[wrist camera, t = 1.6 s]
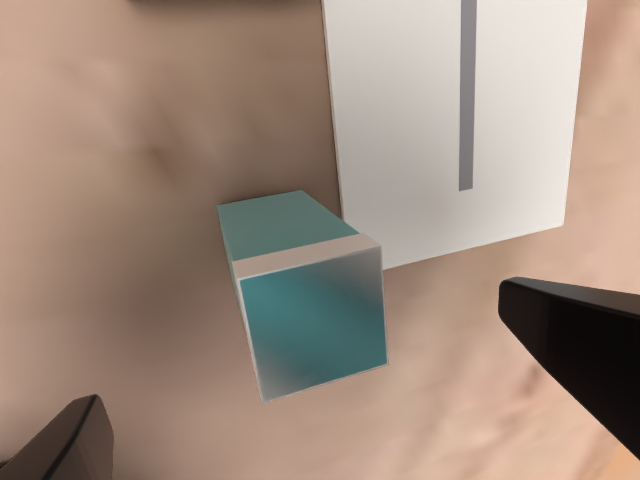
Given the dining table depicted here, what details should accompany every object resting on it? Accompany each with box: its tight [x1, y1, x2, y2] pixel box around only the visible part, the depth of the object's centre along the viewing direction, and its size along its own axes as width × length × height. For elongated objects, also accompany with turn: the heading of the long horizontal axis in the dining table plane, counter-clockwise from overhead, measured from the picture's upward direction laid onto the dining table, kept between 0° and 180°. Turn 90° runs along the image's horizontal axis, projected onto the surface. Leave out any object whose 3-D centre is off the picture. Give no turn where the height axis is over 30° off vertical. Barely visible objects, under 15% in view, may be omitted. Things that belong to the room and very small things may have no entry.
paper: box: [321, 0, 587, 270], centre depth 17 cm, size 16×12×1 cm
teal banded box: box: [216, 190, 389, 404], centre depth 13 cm, size 3×3×8 cm
